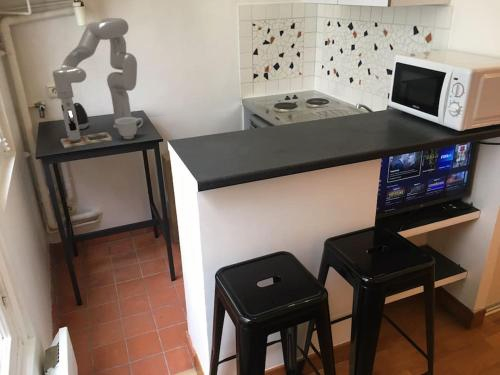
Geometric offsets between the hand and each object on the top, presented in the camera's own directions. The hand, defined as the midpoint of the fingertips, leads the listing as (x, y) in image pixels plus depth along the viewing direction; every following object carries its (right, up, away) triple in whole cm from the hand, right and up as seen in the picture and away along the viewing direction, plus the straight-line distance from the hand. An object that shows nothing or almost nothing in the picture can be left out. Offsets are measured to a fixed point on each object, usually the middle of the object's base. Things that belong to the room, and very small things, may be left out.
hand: (72, 128), depth 221 cm
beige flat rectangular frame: (+5, -6, +6) cm, 10 cm away
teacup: (+28, -4, +10) cm, 30 cm away
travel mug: (0, -6, +3) cm, 7 cm away
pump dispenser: (-7, +4, +28) cm, 29 cm away
